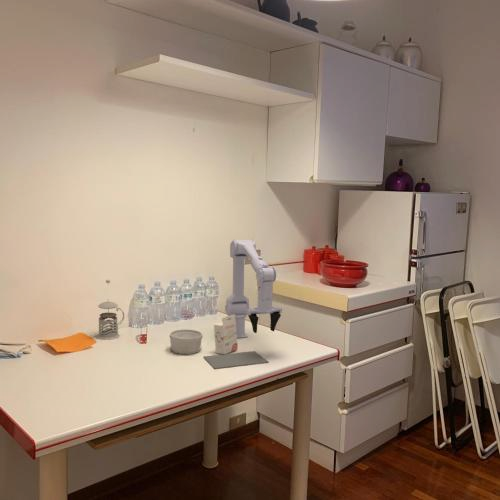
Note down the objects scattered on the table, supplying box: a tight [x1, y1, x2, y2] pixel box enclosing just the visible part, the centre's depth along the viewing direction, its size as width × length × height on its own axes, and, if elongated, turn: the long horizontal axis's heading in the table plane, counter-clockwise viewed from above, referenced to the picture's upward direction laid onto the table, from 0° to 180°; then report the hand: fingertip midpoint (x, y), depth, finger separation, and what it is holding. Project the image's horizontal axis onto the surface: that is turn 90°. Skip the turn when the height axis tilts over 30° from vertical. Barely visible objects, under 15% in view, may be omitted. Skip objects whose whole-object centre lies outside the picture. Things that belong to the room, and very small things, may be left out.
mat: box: [203, 350, 270, 370], centre depth 195 cm, size 13×22×1 cm, turn 113°
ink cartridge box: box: [213, 314, 238, 355], centre depth 204 cm, size 9×5×15 cm, turn 143°
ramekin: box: [169, 328, 203, 355], centre depth 204 cm, size 13×13×7 cm
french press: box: [95, 279, 125, 341], centre depth 217 cm, size 10×12×25 cm
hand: (263, 331), depth 200 cm, fingers open, 7 cm apart
